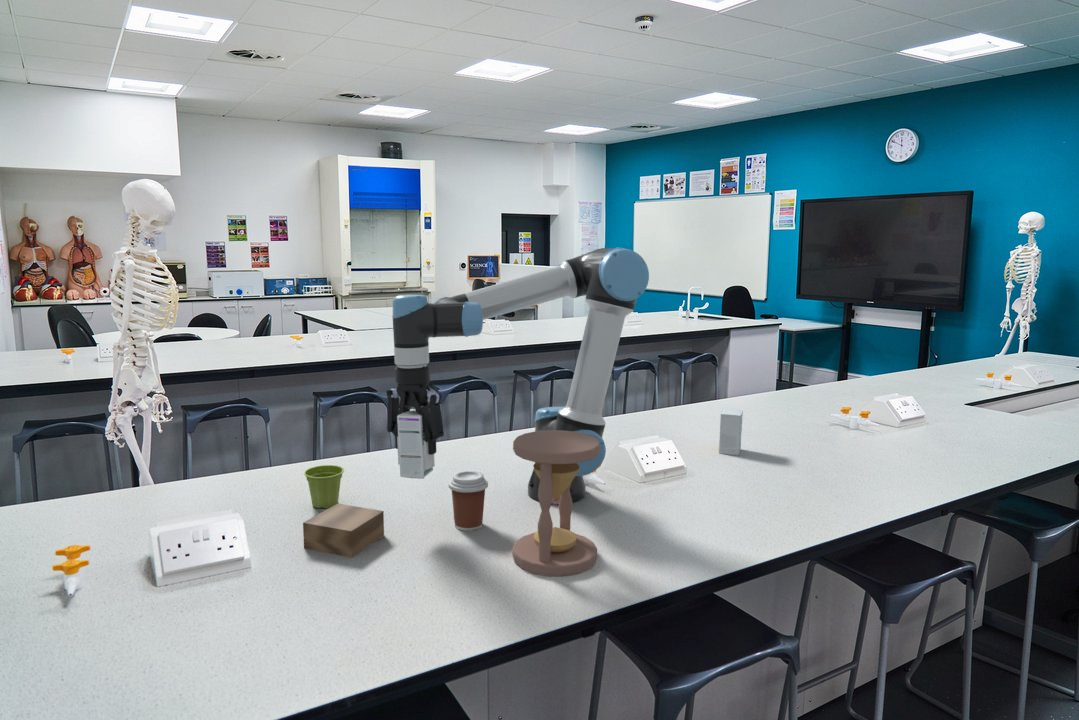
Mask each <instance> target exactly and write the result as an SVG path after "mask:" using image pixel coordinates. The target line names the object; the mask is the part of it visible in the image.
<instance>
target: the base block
mask: <svg viewBox="0 0 1079 720" xmlns="http://www.w3.org/2000/svg"><path fill="white" fill-rule="evenodd" d="M384 513H385V512H384V510H381V509H380V510H379V509H374V508H373V509H372V508H367V507H361V506H356V505H355V506H354V505H348V504H342V503H337V504H336V505H334V506H333V507H330V508H326V510H324V511H322V512H320V513H318V514H316V515H314V516H312V517H311V518H308V519H307V520H306V521H305V520H304V521H303V522H302V532H303V549H306V550H310V551H316V552H320V553H327V554H331V555H337V556H343V557H347V558H354V557H355V556H356V555H359V553H361V552H362V551H363V550H366V549H367V548H368V547H369V546H371V545H372V544H374V543H375V542H377V541H378V540H380V539H381V538H383V537H384V536H385V520H384V519H385V518H384V516H385V515H384Z"/></svg>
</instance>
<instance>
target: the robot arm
mask: <svg viewBox="0 0 1079 720" xmlns="http://www.w3.org/2000/svg"><path fill="white" fill-rule="evenodd" d="M649 279H650V272H649V267H648V265H647V262H646V261H645V259H644V258H643V257H642V256H641V255H640V254H639V253H637V252H636V251H634V250H632V249H628V248H623V247H615V248H614V247H612V248H611V247H610V248H609V247H608V248H607V247H601V248H597V249H594V250H592V251H589V252H586V253H583V254H581V255H578V256H576V257H573V258H570V259H566V260H563V261H562V262H561V264H560V265H559V266H557V267H554V268H553V267H552V268H549V269H545V270H542V271H539V272H535V273H532V274H529V275H528V274H527V275H525V276H522V277H517V278H514V279H511V280H506V281H503V282H500V283H495V284H493V285H488V286H485V287H483V288H478V289H475V290H471V291H467V292H463V293H462V294H457V295H453V296H444V297H441V298H438V299H437V300H436V301H434V302H433V303H431V302H429V300H428V296H426V295H425V294H400V295H396V296H395V297H394V298H393V299H392V328H393V329H392V331H393V334H392V335H393V353H394V357H393V358H394V364H395V365H396V367H394V374H395V383H396V384H397V386H396V387H394V388H390V389H387V390H386V398H387V425H386V429H387V430H386V431H387V432H388V433H392V434H393V436H394V440H395V445H394V446H395V449H396V450H397V462H398V463H397V464H398V465H399V466H400V461H399V443H398V423H397V416H398V415H400V414H402V413H404V412H407V411H410V409H412V408H414V409H415V410H416V412H418V414H419V415H422V424H423V430H424V433H425V436H426V439H425V440H424V441H423V444H424V469H426V470H428V469H430V468H432V467H433V468H434V467H436V466H435V464H436V463H435V454H437V440H438V439H439V438H440V439H441V438H442V437H444V433H445V432H444V425H443V418H442V407H441V400H442V394H441V392H438V393H436V392H432V391H431V388H430V386H429V384H430V380H431V369H430V366H429V365H428V364H429V363H430V352H429V351H430V348H429V347H430V346H429V344H430V343H429V339H430V338H446V337H447V338H448V337H449V338H450V337H466V338H468V337H470V336H471V337H472V336H478V335H480V334H482V331H483V328H484V324H483V323H484V322H483V321H484V320H489V319H492V318H495V317H498V316H502V315H505V314H509V313H512V312H513V313H514V312H516V311H519V310H523V309H526V308H530V307H534V306H537V305H541V304H544V303H548V302H551V301H555V300H557V299H561V298H565V297H569V298H572V299H577V298H580V297H584V296H585V302H586V303H587V305H588V308H589V311H588V313H587V314H588V315H587V318H586V322H585V326H584V331H583V336H582V339H581V344H580V347H579V348H580V349H579V351H578V356H577V360H576V364H575V368H574V373H573V377H572V381H571V385H570V389H569V394H568V396H567V402H566V404H565V406H548V407H541V408H538V409H537V410H536V412H535V419H534V423H535V424H534V425H535V426H534V427H535V428H534V432H535V431H546V430H564V431H573V432H579V433H584V434H588V435H590V436H593V437H595V438H596V439H597V440H598V441H599V442H600V452H599V455H598V456H597V457H595V458H594V459H592V460H589V461H585V462H581V463H577V464H578V465H579V466H580V467H579V470H578V472H577V475H576V476H575V477H574V479H573V480H572V482H571V486H570V489H569V490H570V494H571V498H572V503H574V502H575V503H576V502H578V501H581V500H583V499H584V498H585V497H586V494H587V493H586V492H587V490H586V488H587V487H586V483H585V479H584V477H585V476H588V475H590V474H592V473H593V472H595V471H597V470H598V469H599V468H600V467H601V465H602V464H603V463H604V460H605V457H606V452H607V448H606V444H605V440H604V439H603V435H604V433H605V428H606V420H605V419H604V417H603V415H602V411H603V408H604V404H605V400H606V395H607V393H608V392H607V391H608V388H609V383H610V381H611V380H610V379H611V376H612V372H613V368H614V363H615V359H616V356H617V352H618V349H619V348H618V347H619V345H620V344H619V343H620V339H621V335H622V330H623V327H624V322H625V320H626V318H627V316H628V315H630V314H632V313H633V312H634V311H635V307H636V303H637V298H639V297H640V296H641V295H643V293H644V292H645V291H646V289H647V287H648V285H649V281H650V280H649ZM535 463H537V462H534V464H535ZM539 483H540V479H539V477H538V476H537V474H536V472H535V470H534V468H533V469H532V472H531V474H530V478H529V481H528V484H527V495H528V496H529V497H530V498H531V499H533V500H535V501H538V502H539V498H538V489H539ZM559 499H560V498H559Z"/></svg>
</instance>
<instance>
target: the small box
mask: <svg viewBox="0 0 1079 720" xmlns="http://www.w3.org/2000/svg"><path fill="white" fill-rule="evenodd" d="M743 414H744V412H743V409H733V408H722V411H721V412H720V421H719V422H720V423H719V440H718V441H719V443H718V454H719V455H730V456H740V452H741V449H742V448H741V446H742V432H743V431H742V430H743Z"/></svg>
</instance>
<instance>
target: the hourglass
mask: <svg viewBox="0 0 1079 720" xmlns="http://www.w3.org/2000/svg"><path fill="white" fill-rule="evenodd" d="M512 450H513V452H514V454H515V455H516V456H517V457H519V458H521V459H523V460H526V461H529V462H532V463H534V464H533V469H534V470H535V472H536V474H537V476H538V477H539V479H540V483H539V489H538V498H539V501H538V503H539V506H540V510H541V511H540V515H539V518H538V522H537V531H535V532H532V533H529V534H526V535H524V536H521V537H520V538H519V539H517V540H516V541H515V543H514V544H513V547H512V552H511V553H512V558H513V560H514V564H516V565H517V566H519V568H521V570H524V571H527V572H529V573H531V574H535V575H540V576H541V575H542V576H546V577H568V576H574V575H578V574H581V573H583V572H586V571H588V570H590V569H591V568H592V567H593V566H594V565H595V564H596V563H597V558H598V548H597V546H596V544H595V543H594V542H593V540H591V539H589V538H588V537H586V536H584V535H580V534H577V533H575V532H574V531H572V530H571V520H572V519H571V516H572V511H573V502H572V498H571V494H570V490H569V489H570V486H571V482H572V480H573V479H574V477H575V476H576V475H577V472H578V470H579V467H580V466H579V465H578V464H577V463H581V462H585V461H589V460H592V459H594V458H595V457H597V456H598V455H599V452H600V442H599V441H598V440H597V439H596V438H595V437H593V436H590V435H588V434H584V433H579V432H573V431H564V430H546V431H535V430H534V431H531V432H527V433H526V432H525V433H523V434H520V435H518V436H517V437H516V438H515V439H514V441H513V442H512ZM535 462H537V463H535ZM559 498H560V499H559ZM552 504H553V505H558V514H559V527H558V526H554V525H553V520H552V516H551V512H550V510H551V506H552ZM553 526H554V527H553Z"/></svg>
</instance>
